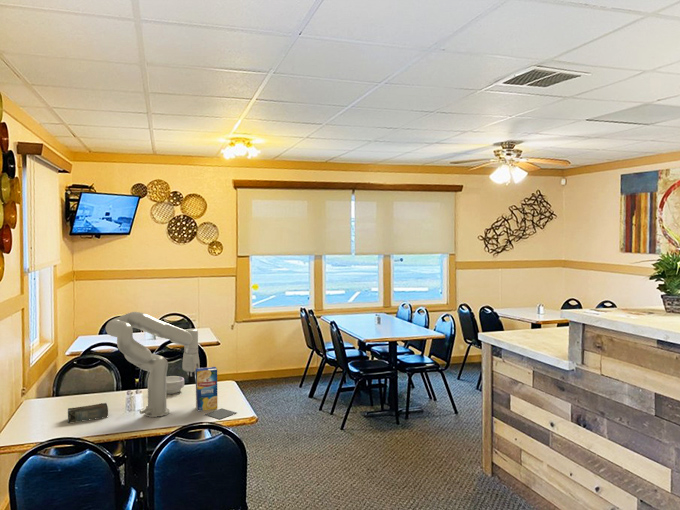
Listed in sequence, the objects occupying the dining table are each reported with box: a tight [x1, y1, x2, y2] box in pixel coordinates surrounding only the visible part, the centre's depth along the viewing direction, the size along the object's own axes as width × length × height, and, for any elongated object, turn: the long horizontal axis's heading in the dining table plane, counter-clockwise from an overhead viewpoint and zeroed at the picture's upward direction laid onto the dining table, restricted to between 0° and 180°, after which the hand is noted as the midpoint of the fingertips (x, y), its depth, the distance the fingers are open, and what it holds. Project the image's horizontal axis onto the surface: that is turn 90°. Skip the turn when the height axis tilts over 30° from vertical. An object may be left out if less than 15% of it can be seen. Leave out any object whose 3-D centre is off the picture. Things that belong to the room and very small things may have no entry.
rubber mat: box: [204, 407, 237, 420], centre depth 289 cm, size 12×12×1 cm
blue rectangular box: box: [195, 366, 218, 412], centre depth 299 cm, size 7×11×22 cm, turn 111°
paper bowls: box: [166, 375, 185, 395], centre depth 330 cm, size 15×15×8 cm
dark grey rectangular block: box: [67, 402, 109, 424], centre depth 282 cm, size 8×19×7 cm, turn 118°
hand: (191, 382), depth 306 cm, fingers closed
